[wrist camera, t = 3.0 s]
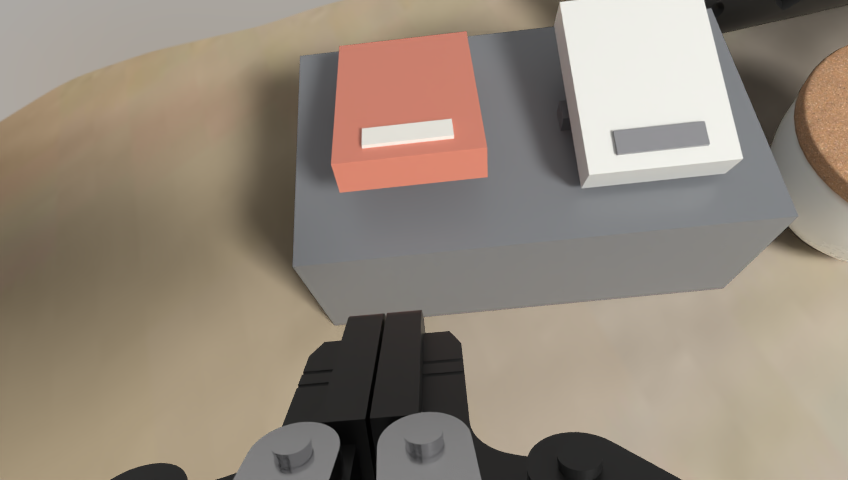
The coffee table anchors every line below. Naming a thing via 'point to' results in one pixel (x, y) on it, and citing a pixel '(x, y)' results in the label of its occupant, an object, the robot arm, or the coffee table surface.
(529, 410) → the coffee table surface
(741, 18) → the muzzle brake
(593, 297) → the switch box
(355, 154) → the labelled salmon box
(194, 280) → the coffee table surface
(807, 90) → the lidded jar
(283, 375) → the coffee table surface
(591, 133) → the white block
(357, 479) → the robot arm
